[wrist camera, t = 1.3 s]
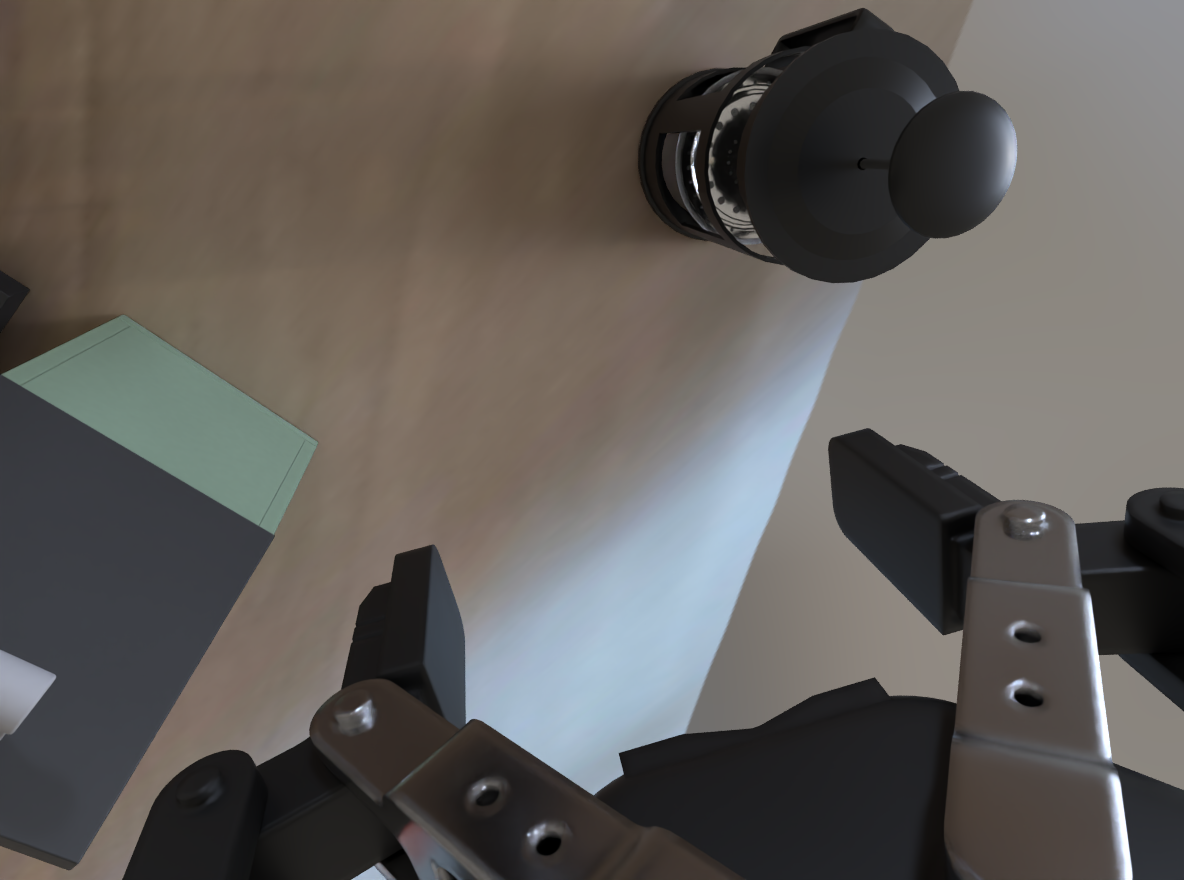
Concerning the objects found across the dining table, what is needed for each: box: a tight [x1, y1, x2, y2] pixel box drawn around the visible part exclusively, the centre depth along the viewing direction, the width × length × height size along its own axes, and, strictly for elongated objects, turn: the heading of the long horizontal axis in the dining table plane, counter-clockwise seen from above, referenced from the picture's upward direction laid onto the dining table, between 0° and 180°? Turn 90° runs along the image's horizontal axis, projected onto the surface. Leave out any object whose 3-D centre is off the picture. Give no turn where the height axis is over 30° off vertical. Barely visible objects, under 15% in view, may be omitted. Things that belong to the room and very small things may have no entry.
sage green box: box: [1, 315, 318, 535], centre depth 39 cm, size 14×13×12 cm
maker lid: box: [0, 374, 275, 870], centre depth 25 cm, size 14×13×5 cm
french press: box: [638, 8, 1017, 283], centre depth 32 cm, size 12×9×23 cm
